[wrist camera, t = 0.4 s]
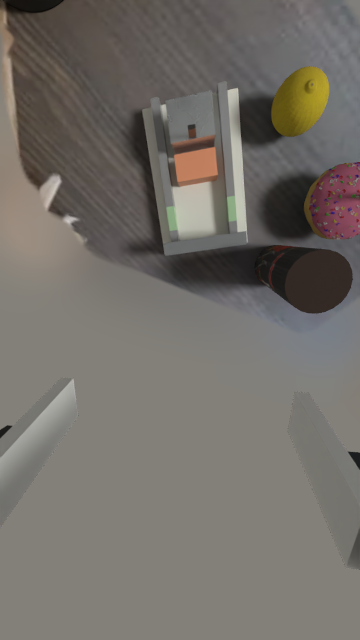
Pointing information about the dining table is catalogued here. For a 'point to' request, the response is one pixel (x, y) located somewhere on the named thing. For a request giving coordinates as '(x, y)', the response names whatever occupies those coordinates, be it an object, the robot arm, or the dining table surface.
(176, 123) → the gauge plunger
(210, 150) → the orange block
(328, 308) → the deodorant
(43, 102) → the dining table surface
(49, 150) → the dining table surface
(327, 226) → the cupcake
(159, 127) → the board
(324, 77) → the lemon
